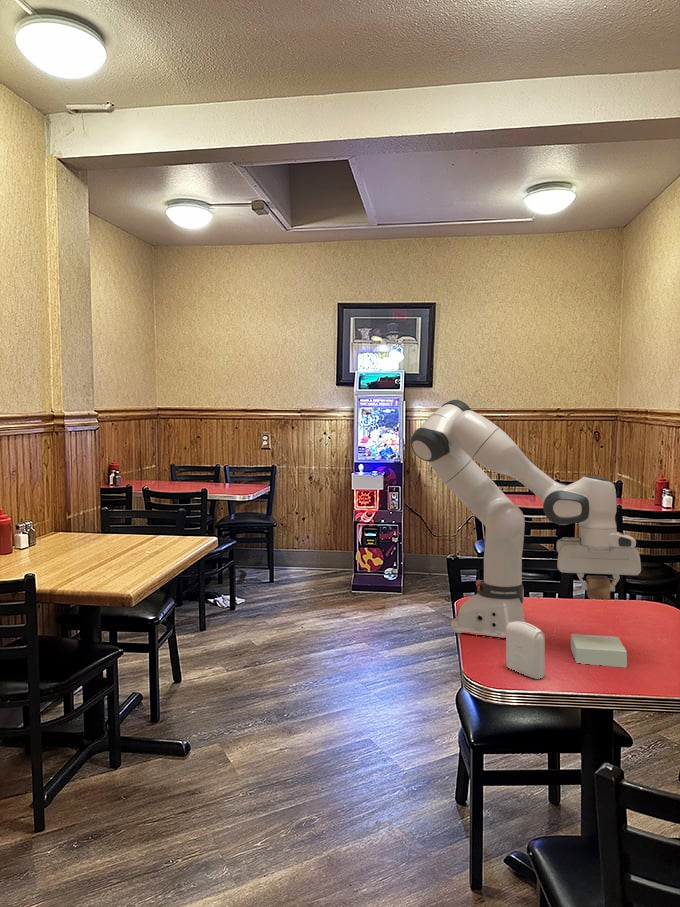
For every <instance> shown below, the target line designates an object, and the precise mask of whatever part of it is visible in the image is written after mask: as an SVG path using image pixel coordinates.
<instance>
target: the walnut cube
mask: <svg viewBox="0 0 680 907" xmlns="http://www.w3.org/2000/svg"><path fill="white" fill-rule="evenodd" d="M586 582H588V590H586V596H587V598H588V599H590V600H606V601H607V600H608V601H610V600H611V591H610V583H611V580H610V578H609V577H608V576H606V575H588V574H587V575H586Z"/></svg>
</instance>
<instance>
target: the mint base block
mask: <svg viewBox="0 0 680 907" xmlns="http://www.w3.org/2000/svg"><path fill="white" fill-rule="evenodd" d="M570 649H571V654H572V656H573V659H574V658H575V659H574V662H575V661H576V662H575V664H576V663H581V664H580V665H585V664H590V665H589V666H599V665H602V666H601V667H612V668H613V667H614V668H615V667H616V668H625V669H626V668H627V667H628V652H627V649H626V648H625V646H624V644H623V643H622V641H621V640H620V637H619V636H611V635H610V636H608V635H596V634H595V635H594V634H579V633H570Z"/></svg>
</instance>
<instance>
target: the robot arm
mask: <svg viewBox="0 0 680 907" xmlns="http://www.w3.org/2000/svg"><path fill="white" fill-rule="evenodd" d="M409 442H410V447H411V450H412V452H413V453H414V454H415V455H416V457H417V458H419V459H420V460H422V461H424V462H426V463H429V465H430V467H431V468H432V470H433V471H434V473H435V474H436V475H437V477H438V478H439V479H440V480H441V481H442V482H443V483H444V484H445V486H446V487H447V488H448V489H449V490H450V491H451V492H452V493H453V494H454V495H455V496H456V497H457V499H458V500H460V501H461V503H463V505H464V506H465V507H466V508H467V509H468V510H469V511H470V512H471V513H472V514H473V515H474V516H475V517H476V518H477V519H478V520H479V522H481V523H482V524H483V525H484V527H485V533H484V534H485V535H484V538H485V539H484V552H483V553H484V554H483V581H482V580H480V579H477V580H476V581H475V586H476V592H477V593H476V594H475V595H473V596H471V597H470V598H468V599H467V600H466V601H464V602H463V603H462V604H461V606H460V608H459V611H458V614H457V617H455V618H453V619H452V620H451V622H450V629H451V630H452V632H453V633H455V634H461V633H462V632H471V633H478V634H484V635H490V636H497V637H506V627H507V625H508V624H509V623H511V622H515V621H521V622H526V620H525V616H524V615H525V614H524V609H523V605H524V604H523V603H524V594H525V593H524V585H523V580H522V579H523V575H522V574H523V573H522V572H523V569H522V568H523V567H522V566H523V562H522V560H523V550H524V540H525V528H526V526H525V525H526V524H525V522H526V520H525V516H524V513H523V511H522V510H521V509H520V507H519V506H517V505H516V504H515V503H514V502H512V501H511V499H510V498H509V497H508V496H507V495H506V494H505V493H504V492H503V491H502V490H501V489H500V488H499V487H498V485H497V484H496V483H495V482H494V480H492V479H491V478H490V476H489V475H488V474H487V473H486V472H485V471H484V470H483V469H482V468H481V467H480V465H481V466H482V467H484V468H485V469H487V470H489V471H490V472H493V473H497V474H501V475H505V476H508V477H510V478H513V479H515V480H516V481H517V482H519V483H521V485H523V486H524V487H526V488H527V489H528V490H530V491H531V493H533V494H534V495H536V496H537V497H538V498H539V499H540V501H541V502H542V503H543V504H542V505H543V506H542V508H543V509H542V510H543V513H544V515H545V517H546V518H547V519H548V520H549V521H550V522H551V523H554V524H556V525H559V526H560V525H561V526H567V525H571V524H579V533H580V534H579V535H580V536H578V537H576V536H573V537H572V536H571V537H569V536H564V537H562V538H560V539H557V541H556V543H555V544H556V545H555V546H556V549H555V550H556V552H557V553H558V555H557V569H558V571H559V572H561V573H565V574H566V573H567V574H576V575H577V577H578V579H579V580H580V581H579V582H581V590H582V591H587V590H588V582H587V581H584V579H583V578H584V577H585V574H593V575H594V574H595V575H612V578H613V579H612V581H610V592H615V591H616V585H617V583H618V582H619V580H620V575H621V576H639V574H641V572H642V564H641V556H640V552H639V551H638V549H637V548H636V545H637V540H636V539H635V538H634V537H632V535H628V534H626V533H623V532H619V531H618V530H617V528H618V527H617V521H616V514H617V508H618V507H617V504H618V503H617V492H616V487H615V484H614V483H613V481H611V480H610V479H608V478H606V477H602V476H597V475H584V476H582V477H581V478H580V479H578V480H576V481H574V482H572V483H569V484H566V483H563V482H559V481H556V480H555V479H553V478H552V477H551V476H549V475H548V474H547V473H546V472H544V471H543V470H541V468H539V467H538V466H537V465H535V464H534V463H533V462H531V460H530V459H529V458H528V457H527V456H526V455H525V453H523V451H522V450H521V449H520V447H519V446H518V445H517V444H516V442H515V441H514V440H513V439H512V438H511V437H510V436H509V435H508V434H507V433H506V432H505V431H504V430H503V429H502V428H500V427H499V426H498V425H496V424H495V423H494V422H492V421H491V420H489V419H487V418H486V417H485V416H483V415H481V414H480V413H477V412H476V411H473V410H472V408H470V406H469V405H468V404H467V403H465V402H464V401H463V400H461V399H451V400H449V401H447V402H445V403H443V404H442V405H441V407H439V408H438V409H436V410H435V411H434V412H432V413H431V414H430V415H428V417H427V419H425V421H424V422H422V424H421V425H420V427H419V428H417V429H416V430H415V431H414V432H413V433H412V436H411V437H410V441H409ZM475 461H476V462H475ZM477 463H478V464H479V465H478V464H477Z"/></svg>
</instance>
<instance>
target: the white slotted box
mask: <svg viewBox="0 0 680 907" xmlns="http://www.w3.org/2000/svg"><path fill="white" fill-rule="evenodd" d="M545 638H546V637H545V633H544V632H543V631H542V630H541V629H540V628H538V627H537V626H535V625H533V624H531V623H529V622H526V621H525V622H521V621H515V622H511V623H509V624H508V625H507V627H506V639H505V665H506V668H507V667H508V668H510V669H509V670H511V669H512V670H511V671H513V670H515V671H514V672H516V671H517V672H516V673H518V672H519V673H518V674H521V673H522V674H521V675H523V674H524V676H526V677H528V678H531V679H535V680H541V679H543V678H544V677H545V674H546V673H545V672H546V669H545V668H546V667H545V666H546V663H545V661H546V659H545V658H546V657H545V656H546V654H545V651H546V650H545V647H546V645H545ZM508 668H507V669H508ZM540 678H541V679H540Z"/></svg>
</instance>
